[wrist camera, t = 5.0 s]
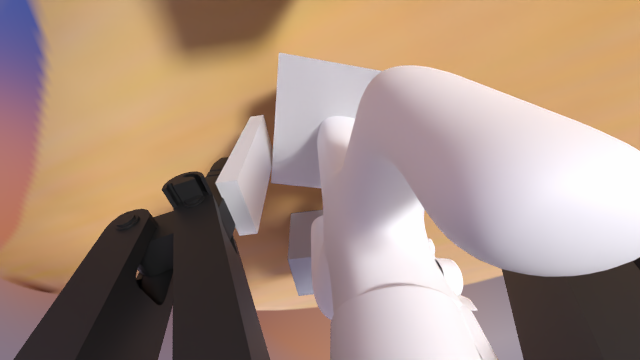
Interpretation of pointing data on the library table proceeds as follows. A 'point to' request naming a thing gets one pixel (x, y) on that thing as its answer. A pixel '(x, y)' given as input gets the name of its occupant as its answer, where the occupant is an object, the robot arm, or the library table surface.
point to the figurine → (440, 199)
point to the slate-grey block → (301, 250)
